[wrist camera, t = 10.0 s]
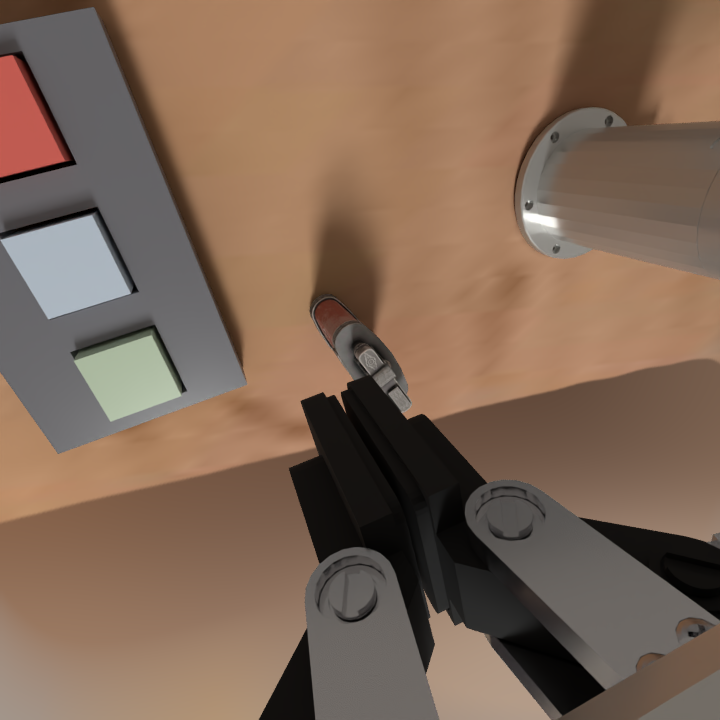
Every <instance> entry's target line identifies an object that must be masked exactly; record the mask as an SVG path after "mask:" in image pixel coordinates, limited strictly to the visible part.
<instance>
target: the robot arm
mask: <svg viewBox="0 0 720 720" xmlns="http://www.w3.org/2000/svg"><path fill="white" fill-rule="evenodd" d="M515 212H516V217H517V223H518V225H519V228H520V231H521V233H522V235H523V237H524V238H525V240H526V241H527V243H528V244H529V245H530V246H532V247H533V248H534V249H535V250H536V251H538V252H540V253H542V254H544V255H547V256H550V257H553V258H561V259H567V258H574V257H577V256H580V255H583V254H585V253H587V252H589V251H591V250H592V249H595V250H599V251H603V252H607V253H611V254H615V255H620V256H624V257H628V258H632V259H636V260H640V261H644V262H648V263H653V264H657V265H661V266H665V267H669V268H673V269H677V270H681V271H686V272H690V273H694V274H698V275H703V276H706V277H710V278H714V279H718V280H720V121H710V122H691V123H673V124H654V125H636V126H627V124H626V123H625V121H624V120H623V119H622V118H621V117H620V116H618V115H617V114H616V113H615V112H612V111H610V110H608V109H605V108H598V107H588V108H580V109H576V110H573V111H569V112H567V113H565V114H563V115H562V116H560V117H558V118H556V119H555V120H554V121H553V122H552V123H550V124H549V125H548V126H547V127H546V128H545V129H544V130H543V131H542V132H541V133H540V135H539V136H538V137H537V138H536V139H535V141H534V143H533V144H532V146H531V147H530V149H529V150H528V152H527V154H526V157H525V159H524V161H523V163H522V166H521V169H520V172H519V176H518V179H517V184H516V191H515ZM347 388H348V390H345V391H343V392H341V397H342V400H343V404H344V407H345V411H346V413H345V411H344V410H343V408H342V406H341V405H340V403H339V401H338V400H337V398H336V396H335V395H332V396H330V397H326V396H325V394H324V393H323V392H322V393H320V394H317V395H315V396H312V397H309V398H307V399H304V400H302V401H301V404H302V407H303V410H304V413H305V416H306V419H307V422H308V425H309V428H310V430H311V433H312V436H313V439H314V442H315V445H316V448H317V451H318V453H319V456H318V457H315V458H313V459H311V460H308V461H306V462H303V463H300V464H298V465H296V466H293V467H291V468H289V471H290V474H291V477H292V480H293V483H294V486H295V489H296V493H297V496H298V499H299V502H300V505H301V508H302V511H303V514H304V517H305V520H306V523H307V527H308V530H309V533H310V536H311V539H312V542H313V545H314V548H315V551H316V554H317V557H318V560H319V563H320V564H319V565H318V567H317V568H316V570H315V571H314V572H313V574H312V575H311V577H310V580H309V582H308V584H307V587H306V594H305V609H306V621H307V629H306V631H305V633H304V635H303V637H302V639H301V641H300V642H299V644H298V646H297V648H296V650H295V652H294V654H293V656H292V658H291V660H290V661H289V663H288V665H287V667H286V669H285V671H284V673H283V675H282V677H281V679H280V680H279V682H278V684H277V686H276V688H275V690H274V692H273V694H272V696H271V698H270V699H269V701H268V703H267V705H266V707H265V709H264V711H263V713H262V715H261V717H260V718H259V720H439V717H438V714H437V710H436V707H435V704H434V701H433V697H432V694H431V690H430V687H429V684H428V680H427V677H426V672H427V669H428V665H429V662H430V658H431V655H432V652H433V649H434V645H435V643H434V640H433V636H432V632H431V628H430V624H429V620H428V619H429V618H430V614H429V610H428V606H427V602H426V598H425V594H424V591H425V593H426V595H427V597H428V598H429V600H430V602H431V604H432V606H433V608H434V609H435V611H436V612H437V613H440V612H442V611H444V610H446V611H447V613H448V614H449V616H450V618H451V620H452V621H453V623H454V625H458V624H459V623H461V622H463V623H464V624H465V626H466V627H467V628H469V629H472V630H475V631H479V632H482V633H484V634H485V637H486V638H487V640H488V642H489V643H490V645H491V646H492V648H493V649H494V650H495V651H496V653H497V654H498V655H499V656H500V658H501V659H502V660H503V661H504V662H505V663H506V665H507V666H508V667H509V668H510V670H511V671H512V672H513V673H514V675H515V676H516V677H517V678H518V679H519V681H520V682H521V683H522V684H523V686H524V687H525V688H526V689H527V690H528V692H529V693H530V694H531V695H532V697H533V698H534V699H535V700H536V701H537V703H538V704H539V705H540V706H541V708H542V709H543V710H544V711H545V713H546V714H547V715H548V716H549V717H550V719H551V720H720V533H717V534H713V536H712V541H711V542H704V541H701V540H697V539H693V538H690V537H686V536H680V535H675V534H669V533H664V532H658V531H652V530H647V529H641V528H636V527H630V526H625V525H619V524H613V523H608V522H602V521H597V520H591V519H585V518H580V517H577V516H576V515H574V514H573V513H572V512H570V511H568V510H567V509H566V508H565V507H563V506H562V505H560V504H559V503H558V502H556V501H555V500H554V499H552V498H551V497H550V496H548V495H547V494H545V493H544V492H543V491H541V490H539V489H538V488H536V487H534V486H532V485H531V484H528V483H524V482H521V481H516V480H500V481H493V482H489V483H486V481H485V480H484V479H483V478H482V477H481V476H480V475H479V474H478V473H477V471H475V469H474V468H473V467H472V466H471V465H470V464H469V463H468V461H467V460H466V459H465V458H464V457H463V456H462V455H461V454H460V453H459V452H458V450H457V449H456V448H455V447H454V446H453V445H452V444H451V443H450V442H449V441H448V439H447V438H446V437H445V436H444V435H443V434H442V433H441V432H440V431H439V429H438V428H437V427H435V425H434V424H433V423H432V422H431V421H430V420H429V418H428V417H426V416H425V415H424V414H420V415H417V416H415V417H413V418H410V419H408V420H407V419H406V418H405V416H404V415H403V414H402V413H401V412H400V410H399V409H398V408H397V407H396V406H395V404H394V403H393V402H392V401H391V399H390V398H389V397H388V396H387V395H386V393H385V392H384V391H383V390H382V388H381V387H380V386H379V385H378V384H377V382H376V381H375V380H374V379H373V378H372V376H371V375H367V376H364V377H362V378H359V379H356V380H354V381H351V382H349V383H347ZM423 589H424V590H423Z"/></svg>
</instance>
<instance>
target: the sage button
mask: <svg viewBox="0 0 720 720" xmlns="http://www.w3.org/2000/svg"><path fill="white" fill-rule="evenodd" d="M74 362H75V364H76V366H77V367H78V369H79V371H80V372H81V374H82V376H83V377H84V379H85V380H86V382H87V384H88V385H89V387H90V389H91V390H92V392H93V394H94V395H95V397H96V399H97V400H98V402H99V404H100V405H101V407H102V408H103V410H104V412H105V413H106V415H107V417H108V418H109V420H110V422H111V421H114V420H117V419H120V418H122V417H125V416H128V415H131V414H133V413H136V412H139V411H142V410H144V409H147V408H150V407H153V406H156V405H158V404H161V403H164V402H167V401H169V400H172V399H175V398H178V397H180V396H182V379H181V377H180V375H179V373H178V371H177V369H176V367H175V365H174V363H173V361H172V358H171V356H170V354H169V352H168V350H167V348H166V346H165V344H164V342H163V340H162V338H161V336H160V334H159V332H158V330H157V328H156V326H155V325H152V326H148V327H145V328H142V329H139V330H136V331H133V332H130V333H127V334H124V335H121V336H118V337H115V338H112V339H109V340H106V341H103V342H100V343H97V344H93V345H90V346H87V347H84V348H81V349H80V350H79V352H78V353H77V355H76V357H75V359H74Z"/></svg>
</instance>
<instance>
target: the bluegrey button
mask: <svg viewBox="0 0 720 720" xmlns="http://www.w3.org/2000/svg"><path fill="white" fill-rule="evenodd" d="M0 241H1V242H2V244H3V246H4V247H5V249H6V250H7V252H8V254H9V255H10V257H11V259H12V260H13V262H14V264H15V265H16V267H17V269H18V270H19V272H20V273H21V275H22V277H23V278H24V280H25V282H26V283H27V285H28V287H29V288H30V290H31V292H32V293H33V295H34V297H35V298H36V300H37V301H38V303H39V305H40V306H41V308H42V310H43V311H44V313H45V315H46V316H47V318H48V319H51V318H55V317H58V316H61V315H64V314H67V313H71V312H74V311H77V310H80V309H84V308H87V307H90V306H93V305H96V304H100V303H103V302H106V301H109V300H113V299H116V298H119V297H122V296H125V295H129V294H131V292H132V290H133V287H134V284H135V282H134V280H133V278H132V276H131V274H130V272H129V270H128V268H127V266H126V264H125V262H124V260H123V258H122V256H121V254H120V251H119V249H118V247H117V245H116V243H115V241H114V239H113V237H112V235H111V233H110V231H109V229H108V227H107V225H106V223H105V221H104V219H103V216H102V214H101V212H100V210H99V209H98V210H94V211H90V212H87V213H83V214H79V215H76V216H72V217H68V218H65V219H61V220H57V221H54V222H50V223H46V224H43V225H39V226H35V227H31V228H28V229H24V230H20V231H18V232H16V233H14V234H12V235H10V236H8V237H5V238H3V239H1V240H0Z"/></svg>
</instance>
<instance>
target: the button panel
mask: <svg viewBox="0 0 720 720" xmlns="http://www.w3.org/2000/svg"><path fill="white" fill-rule="evenodd" d="M10 55H13V56H15V57H17V58H19V59H21V60H22V61H24V62H26V63H27V62H28V64H29V66H30V68H31V70H32V72H33V75H34V77H35V79H36V81H37V83H38V85H39V87H40V89H41V91H42V93H43V95H44V97H45V99H46V101H47V103H48V105H49V107H50V109H51V112H52V114H53V116H54V118H55V120H56V122H57V124H58V126H59V128H60V130H61V132H62V134H63V136H64V138H65V140H66V142H67V144H68V147H69V149H70V151H71V153H72V155H73V157H74V159H75V161H76V163H77V165H73V166H69V167H65V168H61V169H57V170H53V171H49V172H45V173H41V174H37V175H33V176H29V177H25V178H21V179H17V180H13V181H9V182H5V183H1V184H0V240H1V239H3V238H5V237H8V236H10V235H12V234H14V233H16V232H18V231H17V229H16V228H20V227H24V226H27V225H31V224H35V223H38V222H42V221H46V220H49V219H53V218H57V217H60V216H64V215H68V214H72V213H75V212H79V211H83V210H86V209H90V208H94V207H97V206H98V208H99V210H100V212H101V214H102V216H103V219H104V221H105V223H106V225H107V227H108V229H109V231H110V233H111V235H112V237H113V239H114V241H115V243H116V245H117V247H118V249H119V251H120V254H121V256H122V258H123V260H124V262H125V264H126V266H127V268H128V270H129V272H130V274H131V276H132V278H133V280H134V282H135V284H134V287H133V290H132V292H131V294H129V295H125V296H122V297H119V298H116V299H113V300H109V301H106V302H103V303H100V304H96V305H93V306H90V307H87V308H84V309H80V310H77V311H74V312H71V313H67V314H64V315H61V316H58V317H55V318H51V319H48V318H47V316H46V315H45V313H44V311H43V310H42V308H41V306H40V305H39V303H38V301H37V300H36V298H35V297H34V295H33V293H32V292H31V290H30V288H29V287H28V285H27V283H26V282H25V280H24V278H23V277H22V275H21V273H20V272H19V270H18V269H17V267H16V265H15V264H14V262H13V260H12V259H11V257H10V255H9V254H8V252H7V250H6V249H5V247H4V246H3V244H2V242H1V241H0V372H1V374H2V375H3V377H4V378H5V379H6V381H7V382H8V384H9V385H10V386H11V388H12V389H13V391H14V392H15V394H16V395H17V396H18V398H19V399H20V401H21V402H22V403H23V405H24V406H25V408H26V409H27V411H28V412H29V413H30V415H31V416H32V418H33V419H34V420H35V422H36V423H37V425H38V426H39V427H40V429H41V430H42V432H43V433H44V435H45V436H46V437H47V439H48V440H49V442H50V443H51V444H52V446H53V447H54V449H55V450H56V452H57V453H58V454H59V453H62V452H65V451H68V450H70V449H73V448H76V447H79V446H81V445H84V444H87V443H89V442H92V441H95V440H98V439H100V438H103V437H106V436H108V435H111V434H114V433H117V432H119V431H122V430H125V429H128V428H130V427H133V426H136V425H138V424H141V423H144V422H147V421H149V420H152V419H155V418H158V417H160V416H163V415H166V414H168V413H171V412H174V411H177V410H179V409H182V408H185V407H188V406H190V405H193V404H196V403H198V402H201V401H204V400H207V399H209V398H212V397H215V396H217V395H220V394H223V393H226V392H228V391H231V390H234V389H237V388H239V387H242V386H245V385H247V381H246V378H245V374H244V370H243V367H242V365H241V362H240V360H239V357H238V355H237V352H236V350H235V347H234V345H233V343H232V340H231V338H230V335H229V333H228V330H227V328H226V325H225V323H224V320H223V318H222V315H221V313H220V310H219V308H218V305H217V303H216V300H215V298H214V295H213V293H212V290H211V288H210V286H209V283H208V281H207V278H206V276H205V273H204V271H203V268H202V266H201V263H200V261H199V258H198V256H197V253H196V251H195V248H194V246H193V243H192V241H191V238H190V236H189V233H188V231H187V229H186V226H185V224H184V221H183V219H182V216H181V214H180V211H179V209H178V206H177V204H176V201H175V199H174V196H173V194H172V191H171V189H170V186H169V184H168V181H167V179H166V176H165V174H164V172H163V169H162V167H161V164H160V162H159V159H158V157H157V154H156V152H155V149H154V147H153V144H152V142H151V139H150V137H149V134H148V132H147V129H146V127H145V124H144V122H143V119H142V117H141V115H140V112H139V110H138V107H137V105H136V102H135V100H134V97H133V95H132V92H131V90H130V87H129V85H128V82H127V80H126V77H125V75H124V72H123V70H122V67H121V65H120V62H119V60H118V58H117V55H116V53H115V50H114V48H113V45H112V43H111V40H110V38H109V35H108V33H107V30H106V28H105V25H104V23H103V20H102V19H101V17H100V16H99V14H98V13H97V11H96V9H95V8H94V7H91V8H85V9H80V10H75V11H69V12H64V13H59V14H53V15H48V16H43V17H37V18H32V19H27V20H21V21H16V22H11V23H5V24H0V57H5V56H10ZM152 325H155V326H156V328H157V330H158V332H159V334H160V336H161V338H162V340H163V342H164V344H165V346H166V348H167V350H168V352H169V354H170V356H171V358H172V361H173V363H174V365H175V367H176V369H177V371H178V373H179V375H180V377H181V379H182V396H180V397H178V398H175V399H172V400H169V401H167V402H164V403H161V404H158V405H156V406H153V407H150V408H147V409H144V410H142V411H139V412H136V413H133V414H131V415H128V416H125V417H122V418H120V419H117V420H114V421H111V422H110V420H109V418H108V417H107V415H106V413H105V412H104V410H103V408H102V407H101V405H100V404H99V402H98V400H97V399H96V397H95V395H94V394H93V392H92V390H91V389H90V387H89V385H88V384H87V382H86V380H85V379H84V377H83V376H82V374H81V372H80V371H79V369H78V367H77V366H76V364H75V362H74V359H75V357H76V355H77V353H78V352H79V350H80V349H81V348H84V347H87V346H90V345H93V344H97V343H100V342H103V341H106V340H109V339H112V338H115V337H118V336H121V335H124V334H127V333H130V332H133V331H136V330H139V329H142V328H145V327H148V326H152Z"/></svg>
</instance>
